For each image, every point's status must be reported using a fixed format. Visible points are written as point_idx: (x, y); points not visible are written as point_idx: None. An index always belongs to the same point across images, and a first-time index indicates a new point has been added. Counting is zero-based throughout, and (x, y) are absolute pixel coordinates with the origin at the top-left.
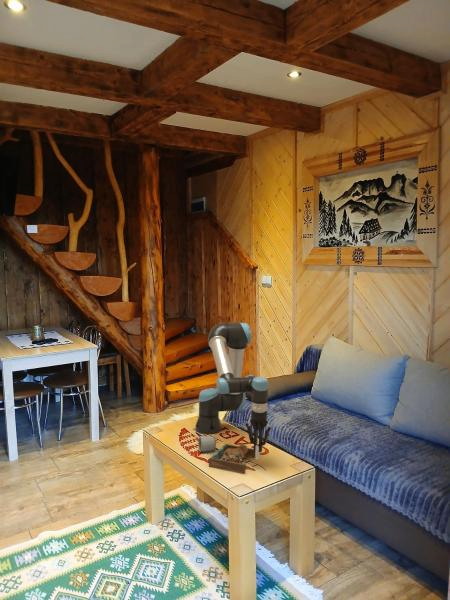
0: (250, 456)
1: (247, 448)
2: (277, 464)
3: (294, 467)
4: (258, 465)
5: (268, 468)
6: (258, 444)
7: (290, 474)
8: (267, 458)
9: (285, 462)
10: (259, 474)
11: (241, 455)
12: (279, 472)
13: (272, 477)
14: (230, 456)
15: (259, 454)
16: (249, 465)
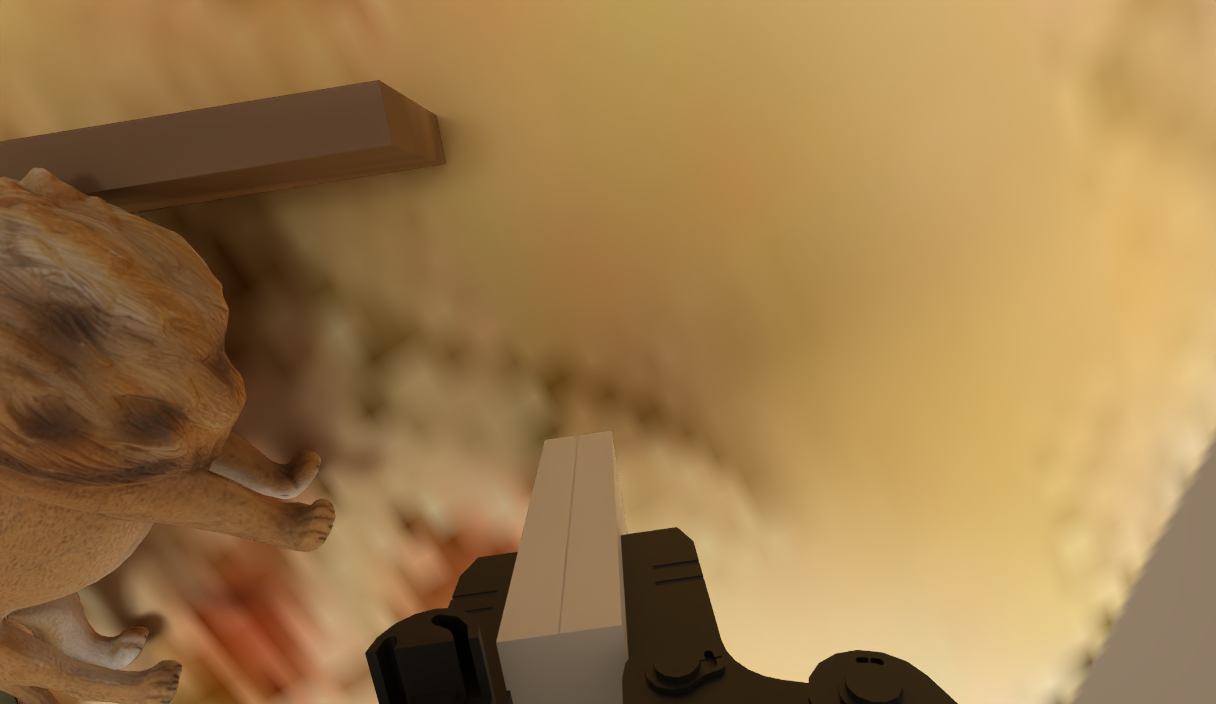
0: (301, 184)
1: (112, 162)
2: (873, 187)
3: (1197, 126)
4: (602, 412)
5: (793, 421)
6: (570, 689)
7: (1189, 422)
8: (602, 40)
9: (982, 9)
10: (755, 667)
11: (237, 531)
12: (1005, 454)
13: (960, 650)
14: (104, 686)
15: (619, 502)
16: (478, 491)
